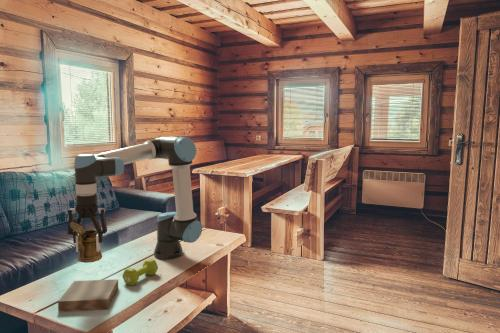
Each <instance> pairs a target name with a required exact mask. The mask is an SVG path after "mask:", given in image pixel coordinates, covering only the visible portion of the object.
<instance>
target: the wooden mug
mask: <svg viewBox="0 0 500 333" xmlns="http://www.w3.org/2000/svg"><path fill="white" fill-rule="evenodd" d="M70 226H71V228H72V229H73V231H75V232H77V233H78V234H79V236H78V245H79V248H80V251H79V252H78V258H77V260H78V262H81V263H86V264H87V263H95V262H98V261H100V260H102V258H103V254H102V251H101V249H100V250H99V252H97V249H96V235H97V234H98V233H97V231H96V229H87V230H86V228H85V225H83V224H82V223H81V224H80V223H77V221H75V220H74V221H72V222H70ZM78 234H77V235H78Z"/></svg>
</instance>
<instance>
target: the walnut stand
mask: <svg viewBox="0 0 500 333" xmlns="http://www.w3.org/2000/svg"><path fill="white" fill-rule="evenodd" d="M118 289H119V279H94V280H93V279H92V280H89V279H88V280H74V281H73V282H72V283H71V284H70V285H69V287H68V288H67V289H66V291H65V292H64V293H63V294H62V295H61V297H60V298H59V299H58V300H57V306H58V307H57V309H58V312H59V313H60V312H75V311H97V310H98V311H99V310H109V307H110V306H111V304H112V302H113V300H114V298H115V296H116V294H117V292H118Z"/></svg>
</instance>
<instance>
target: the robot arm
mask: <svg viewBox="0 0 500 333" xmlns="http://www.w3.org/2000/svg"><path fill="white" fill-rule="evenodd" d="M196 155H197V146H196V144H195V142H194V141H193V140H192V139H191V138H189V137H185V136H170V135H166V136H165V135H164V136H159V137H156V138H153V139H147V140H145V141H144V142H143V143H140V144H136V145H131V146H127V147H123V148H122V147H121V148H119V149H113V150H109V151H105V152H101V153H97V154H90V153H89V154H88V153H86V154H83V153H82V154H77V155H76V156H74V166H73V168H74V179H75V180H74V181H75V194H76V195H75V204H76V206H75V208H73V207H72V208H69V209H68V210H67V213H68V225H67V235H72V239H73V240H72V241H73V244H75V252H76V253H79V251H80V248H79V245H78V236H79V234H78V233H77V232H75V231H74V230H73V229H72V228H71V226H70V222H72V221H75V214H76V213H77V214H78V216H77V220H76V222H77V223H80V224H81V225H82V222H83V220H84V219H85V218H88V219H90V220H91V222H92V224H93V226H94V228H95V229H94V230H96V231H97V233H98V234H97V235H96V249H97V252H99V250H100V251H101V244H102V242H103V240H104V239H103V236H104V235H103V234H106V233H107V232H108V226H107V220H106V211H107V210H106V207H103V208H102V207H99V205H98V195H97V192H98V190H97V189H98V188H97V187H98V186H97V179H98V178H104V177H105V178H107V177H115V176H120V175H122V174H123V172H124V170H125V165H128V164H133V163H136V162H140V161H142V160H147V159H148V160H150V161H151V160H154V159H164V160H168V166H169V167H171V169H172V170H171V171H172V179H173V181H172V182H173V191H174V200H175V211H170V212H162V213H159V214H158V215H157V216H156V217H157V218H156V235H157V236H156V240H157V241H156V244H155V247H154V251H153V256H154V258H155V259H158V260H174V259H178V258H180V257H182V256H183V252H184V250H183V247H182V244H181V241H182V242H183V243H189V244H191V243H192V244H193V243H195V242H196V241H198V239H199V238H200V236H201V235H202V232H203V223H202V222H201V221H199V220H198V216H197V213H195V212H194V202H193V193H192V192H193V191H192V180H191V178H192V177H191V166H192V164H193V160H195V158H196ZM97 212H98V214H99V218H100V222H99V220H98V218H97V214H96V213H97ZM100 224H101V225H100Z"/></svg>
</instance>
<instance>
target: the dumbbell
mask: <svg viewBox="0 0 500 333" xmlns="http://www.w3.org/2000/svg"><path fill="white" fill-rule="evenodd" d="M158 269H159V266H158V264H157V261H156V260H155V259H153V258H147V259H145V261H144V262H143V264H142V267H140V268H138V269H136V268H133V267H127V268H126V269H125V270H123V273H122V279H123V282H124V283H125V285H127V286H131V287H132V286H134V285H136V284H137V283H138V281H139V279H140V278H139V277H141V276H143V275H145V274H146V275H148V276H154V275H155V274H156V273H157V272H158Z"/></svg>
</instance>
